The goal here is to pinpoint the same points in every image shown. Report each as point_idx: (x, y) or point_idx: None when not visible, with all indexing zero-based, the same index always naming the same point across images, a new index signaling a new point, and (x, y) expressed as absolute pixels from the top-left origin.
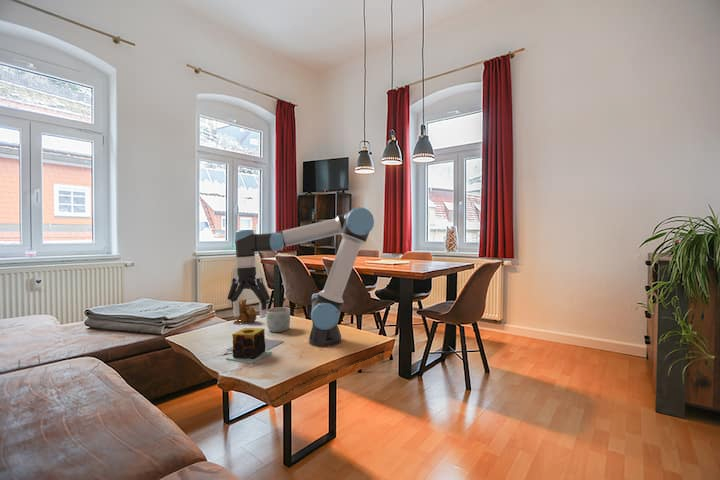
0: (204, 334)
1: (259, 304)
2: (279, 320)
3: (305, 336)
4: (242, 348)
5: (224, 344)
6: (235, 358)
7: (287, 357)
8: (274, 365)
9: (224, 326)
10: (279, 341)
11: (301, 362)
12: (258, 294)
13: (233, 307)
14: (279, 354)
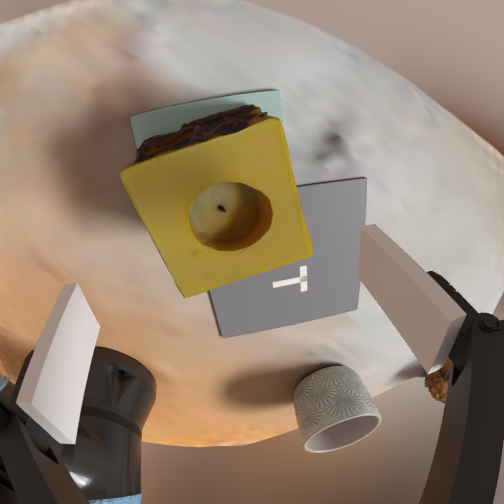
0: (498, 253)
1: (32, 383)
2: (312, 406)
3: (199, 387)
4: (203, 128)
5: (411, 219)
6: (234, 105)
7: (70, 237)
8: (42, 156)
9: None
10: (234, 329)
11: (4, 229)
12: (20, 500)
13: (422, 272)
14: (119, 244)
